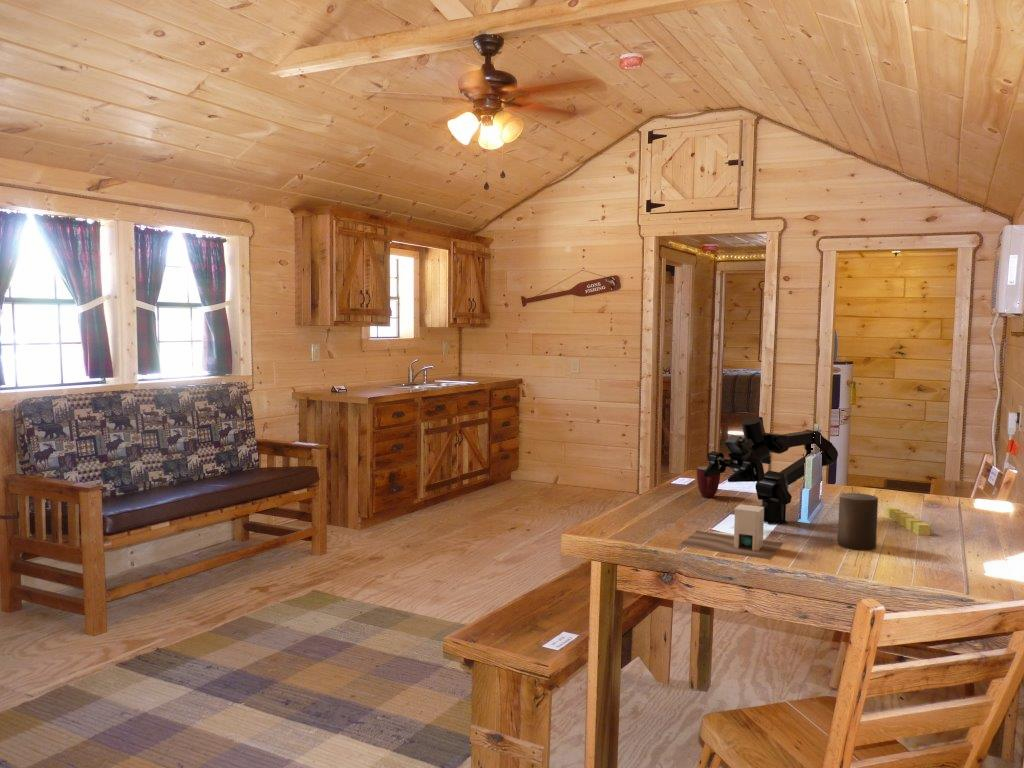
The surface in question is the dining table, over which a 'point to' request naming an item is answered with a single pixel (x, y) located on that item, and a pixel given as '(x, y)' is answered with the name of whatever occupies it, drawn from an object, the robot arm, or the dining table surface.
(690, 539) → the board
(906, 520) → the yellow stair block
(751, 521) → the cream matte box
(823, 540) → the dining table surface
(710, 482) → the mug
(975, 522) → the dining table surface
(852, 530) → the pillar candle
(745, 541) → the marble
